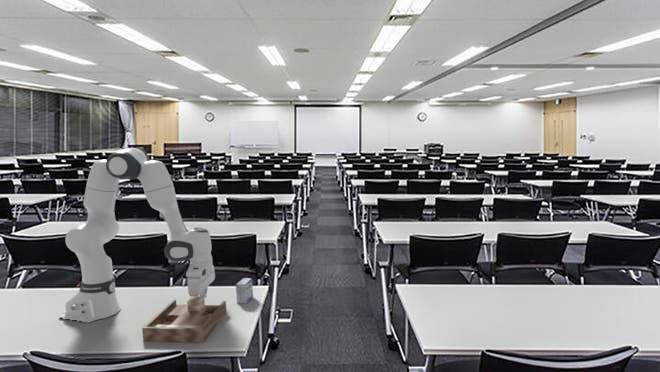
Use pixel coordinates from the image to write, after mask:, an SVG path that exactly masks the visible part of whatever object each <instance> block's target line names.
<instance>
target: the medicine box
mask: <svg viewBox="0 0 660 372" xmlns="http://www.w3.org/2000/svg"><path fill="white" fill-rule="evenodd" d="M253 288H254V287H253V278H249V277H243V278H242V279H240V280H239V281H238V282H237V283H236V284H235V292H236V294H235V295H236V303H237V304H244V305H247V303H248V302H249V301H250V300H251V299H252V298H253V297H254V292H253V291H254V289H253Z"/></svg>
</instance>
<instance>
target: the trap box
mask: <svg viewBox="0 0 660 372" xmlns="http://www.w3.org/2000/svg"><path fill="white" fill-rule="evenodd" d="M226 302H227V301H226V300H222V301H221V303H220V304H219V305H218V304H217V305H216V304H213V305H212V304H205V306H204V308H203V309H202V310H201V311H188V305H187V304H177V299H173V300H171V301H170V302H169V303H168V304H167V305H166V306H165V307H164V308H163V309H161V311H159V312H158V313H157V314H156V315H155V316H154V317H153V318H152V319H150V320H149V321H148V322H147V323H146V324H144V326H142V328H141V330H142V340H143V342H153V343H155V342H156V343H157V342H160V343H183V344H184V343H186V344H187V343H191V344H204V343H205V342H206V340H207V339H208V337H209V336H210V334H211V333H212V332H213V331H214V329H215V328H216V326H218V325H219V323H220V321H221V320H222V319H223V318H224V316H225V315H226V314H227V303H226Z"/></svg>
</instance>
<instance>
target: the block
mask: <svg viewBox="0 0 660 372" xmlns="http://www.w3.org/2000/svg"><path fill="white" fill-rule="evenodd" d="M186 305H188V311H201V310H202V309H203V308H204V306H205V305H206V302H205V299H204V297H200V296H190V298H189V299H188V300H187V304H186Z"/></svg>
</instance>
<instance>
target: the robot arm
mask: <svg viewBox="0 0 660 372" xmlns="http://www.w3.org/2000/svg"><path fill="white" fill-rule="evenodd" d="M149 156H150V155H148V153H147V151H146V150H144V149H142V148H140V147H128V148H123V149H121V150H116V151H114V152H113V153H111V154H110V155H109V156H108V158H107V159H99V160H96V161H95V162H94V163H93V164H92V166H91V168H90V170H89V174H88V178H87V180H86V185H85V186H86V187H85V192H84V197H83V203H82V204H83V207H84V208H85V209H86V211H87V220H86V221H84V222H81V223H79V224H77V225H75V226H73V227H72V228H71V229H69V231H68V232H67V233H66V235H65V238H64V239H65V244H66V246H67V247H66V248H68V249H69V250H70V251H71V252H73V253H74V254H75V255H76V257H77V258H78V262H79V264H80V270H81V271H80V272H81V277H82V281H79V283H78V284H76V288H79V290H78V291H77V292H76V293H74V294H73V295H72V296H71V297H69V299H68V300H67V301H66V304H65V309H64V310H63V311H62V312H61V313H60V314H59V316H58V317H59V319H60V318H64V319H63V320H65V319H70V320H69V321H72V320H77V321H76V322H79V321H82V322H81V323H91V322H94V321H96V320H101V319H105V318H109V317H111V316H113V315H116V314H118V313H119V312H120V311H121V309H122V308H121V306H120V303H119V302H118V301H119V300H118V298H117V293H116V280H115V276H114V272H113V262H112V261H113V260H112V258H111V257H110V256H109V255H107V253H106V251H105V249H104V245H105V244H106V243H108V242H110V241H111V240H113V238H115V237H116V235H117V234H118V232H119V230H120V225H119V223H118V221H117V220H116V215H115V207H116V205H115V204H116V198H117V194H118V190H119V189H118V188H119V183H120V180H136V179H138V180H139V181H140V183H141V185H142V188H143V192H144V195H145V198H146V200H147V202H148V204H149V205H150V207H151V208H152V209H154V210H156V211H159V213H160V214H162V215H163V216H164V219H165V221H166V225H167V226H168V229H169V232H170V239H169V240H168V242H167V243H166V245H165V246H164V256H165V257H166V259H168V260H169V261H171V262H173V263H178V262H179V263H180V262H185V261H188V260H189V265H188V269H187V271H185V273H186V274H185V276H186V278H187V282H186V283H187V291H188V295H189V296H190V297H192V296H194V297H204V300H205V299H206V298H207V295H208V287H209V286H210V284H212V283H213V282H214V280H215V278H216V273H215V266H214V265H213V256H212V240H211V234H210V232H209V231H208V229H206V228H205V227H204V228H203V227H191V228H189V230H188V228H186V226H185V223H184V220H183V217H182V214H181V212H180V208H179V205H178V201H177V194H176V190H175V186H174V183H173V180H172V178H171V175H170V173H169V171H168V169H167V166H166V165H165V163H163V162H162V161H160V160H150V157H149Z"/></svg>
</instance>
